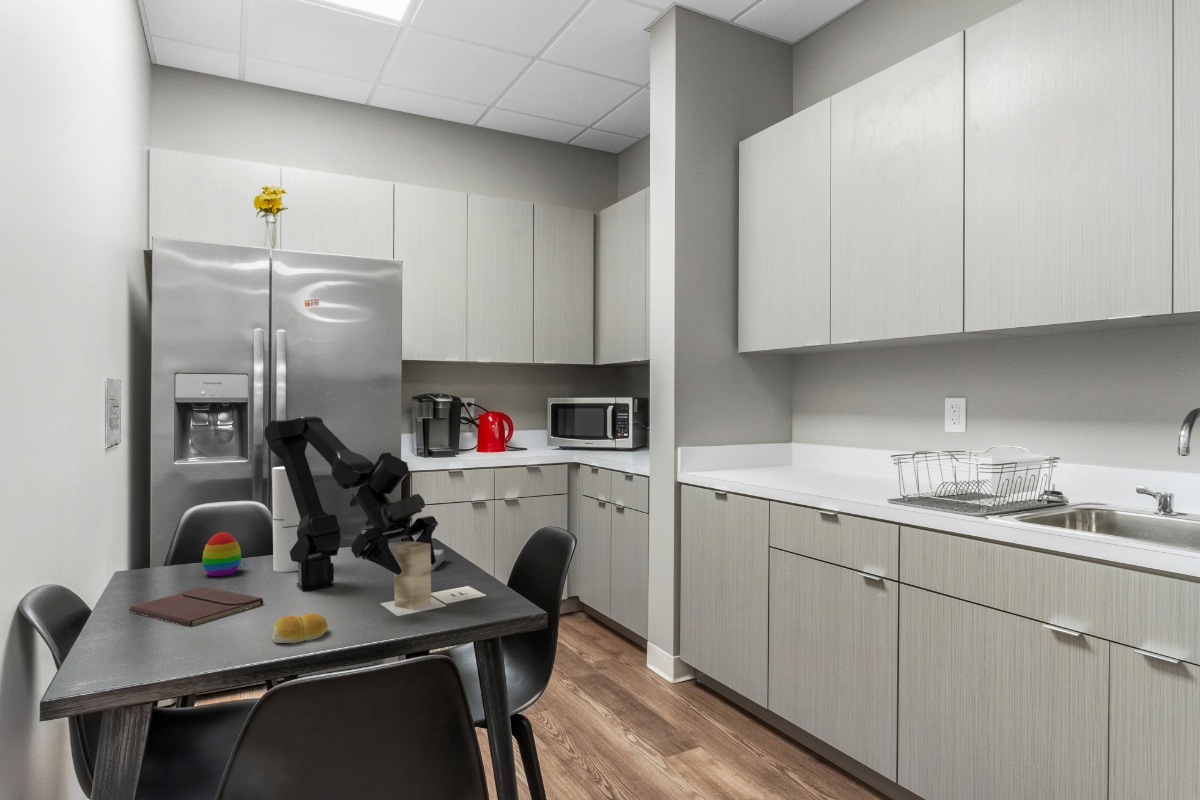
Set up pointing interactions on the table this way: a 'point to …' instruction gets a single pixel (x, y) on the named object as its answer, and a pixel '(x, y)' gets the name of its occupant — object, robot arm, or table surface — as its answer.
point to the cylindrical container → (283, 522)
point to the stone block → (438, 558)
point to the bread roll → (299, 628)
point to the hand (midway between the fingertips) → (417, 568)
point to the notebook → (196, 605)
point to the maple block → (413, 575)
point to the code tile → (457, 594)
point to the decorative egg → (221, 555)
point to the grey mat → (403, 611)
